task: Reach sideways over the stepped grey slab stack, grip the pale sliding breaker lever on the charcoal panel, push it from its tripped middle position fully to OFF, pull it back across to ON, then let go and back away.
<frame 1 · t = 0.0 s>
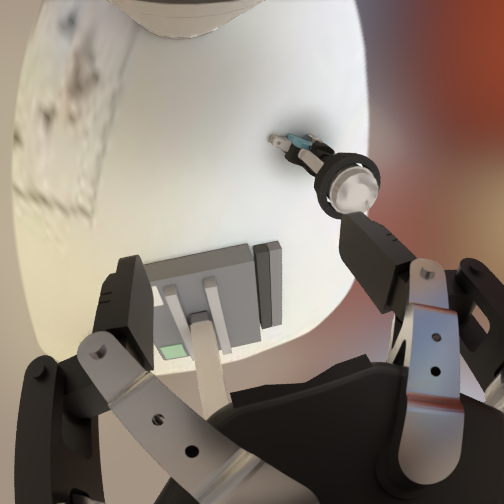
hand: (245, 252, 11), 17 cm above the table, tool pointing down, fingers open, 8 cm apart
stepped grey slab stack: (267, 286, 38), on the table
breaker panel: (198, 301, 37), on the table
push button: (298, 145, 27), on the table
breaker lever: (210, 372, 29), point 10 cm above the table, slide at 0.0 cm
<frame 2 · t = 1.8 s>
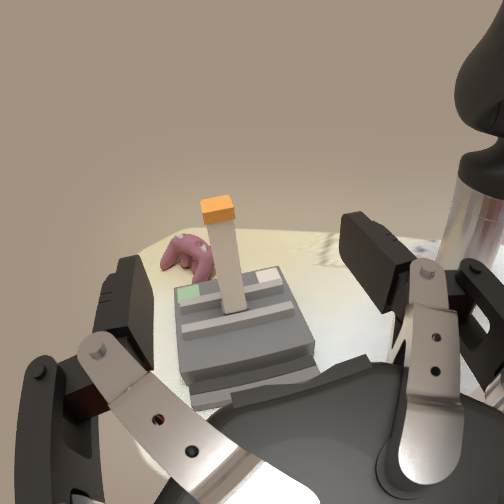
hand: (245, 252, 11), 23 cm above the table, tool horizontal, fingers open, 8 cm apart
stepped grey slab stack: (255, 387, 30), on the table
breaker panel: (238, 328, 37), on the table
video game controller: (191, 272, 48), on the table
breaker lever: (226, 265, 31), point 10 cm above the table, slide at 0.0 cm
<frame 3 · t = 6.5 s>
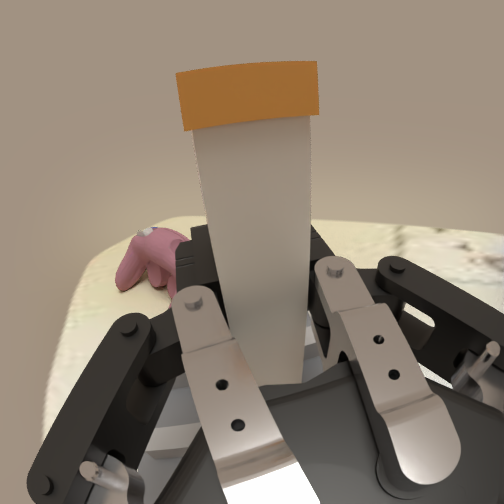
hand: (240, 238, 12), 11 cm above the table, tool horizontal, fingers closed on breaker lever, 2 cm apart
breaker panel: (270, 414, 16), on the table
video game controller: (167, 296, 26), on the table
breaker lever: (259, 295, 10), point 10 cm above the table, slide at 0.0 cm, touching gripper
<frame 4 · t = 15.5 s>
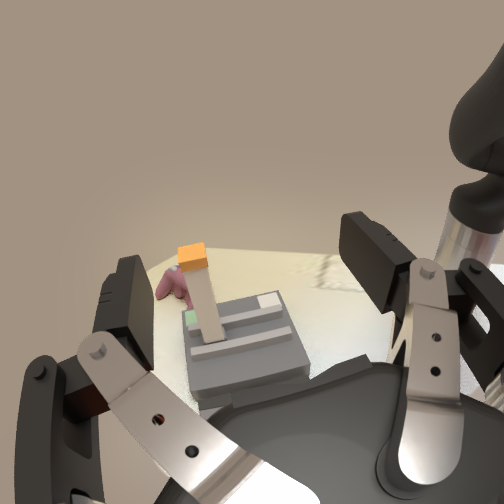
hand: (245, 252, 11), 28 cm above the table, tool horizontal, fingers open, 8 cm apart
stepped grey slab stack: (256, 403, 33), on the table
breaker panel: (241, 348, 41), on the table
video game controller: (184, 302, 50), on the table
breaker lever: (204, 302, 34), point 10 cm above the table, slide at 3.2 cm
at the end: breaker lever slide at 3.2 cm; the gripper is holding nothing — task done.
